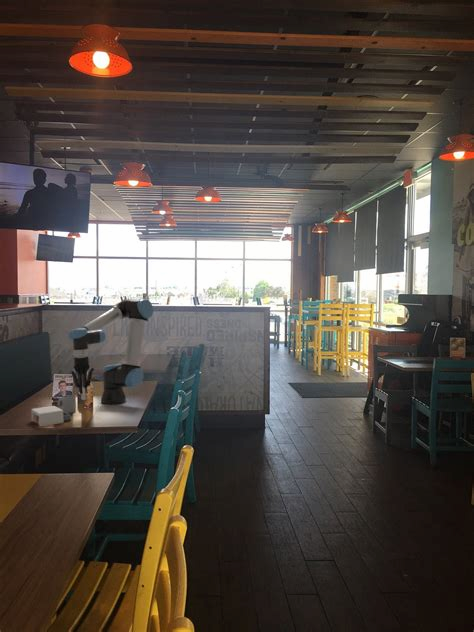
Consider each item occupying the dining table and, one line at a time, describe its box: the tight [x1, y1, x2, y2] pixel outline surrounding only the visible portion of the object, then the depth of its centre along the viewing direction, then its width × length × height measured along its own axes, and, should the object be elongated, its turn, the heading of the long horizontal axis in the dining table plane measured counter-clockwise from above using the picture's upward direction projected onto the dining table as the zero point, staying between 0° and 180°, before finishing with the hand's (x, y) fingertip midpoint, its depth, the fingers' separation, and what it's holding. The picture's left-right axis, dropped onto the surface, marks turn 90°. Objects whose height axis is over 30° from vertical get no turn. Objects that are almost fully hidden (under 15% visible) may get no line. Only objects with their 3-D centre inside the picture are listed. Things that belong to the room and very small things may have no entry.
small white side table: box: [31, 405, 65, 427], centre depth 274 cm, size 12×14×6 cm
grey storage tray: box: [38, 412, 72, 422], centre depth 276 cm, size 14×10×3 cm
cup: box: [57, 394, 77, 414], centre depth 296 cm, size 7×10×9 cm
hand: (83, 399), depth 286 cm, fingers closed
